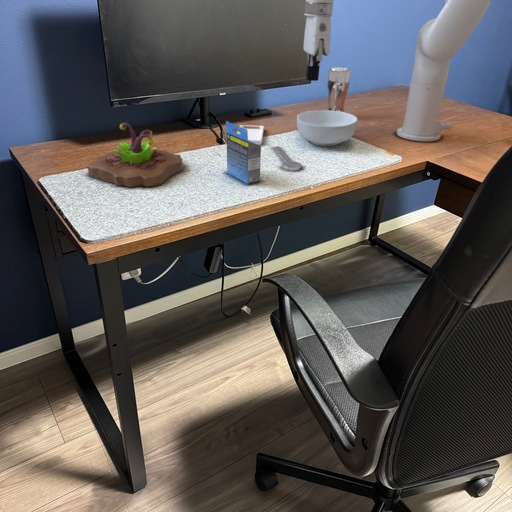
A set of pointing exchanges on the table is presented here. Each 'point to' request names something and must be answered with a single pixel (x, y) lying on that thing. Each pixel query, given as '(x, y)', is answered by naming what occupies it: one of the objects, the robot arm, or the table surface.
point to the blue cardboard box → (242, 155)
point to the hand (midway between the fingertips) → (312, 79)
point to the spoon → (287, 161)
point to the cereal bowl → (326, 126)
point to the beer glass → (338, 88)
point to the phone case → (254, 134)
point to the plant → (136, 163)
